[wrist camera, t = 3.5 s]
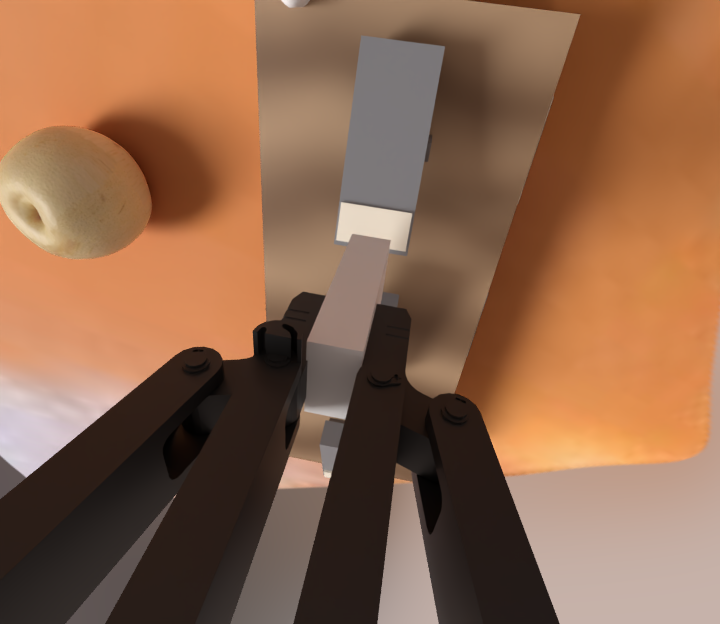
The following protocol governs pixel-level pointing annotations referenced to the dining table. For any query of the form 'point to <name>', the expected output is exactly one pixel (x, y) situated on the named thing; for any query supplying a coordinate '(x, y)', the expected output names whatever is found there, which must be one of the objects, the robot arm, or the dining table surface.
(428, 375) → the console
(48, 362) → the dining table surface
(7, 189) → the apple
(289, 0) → the medicine bottle
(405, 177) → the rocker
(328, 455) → the block
